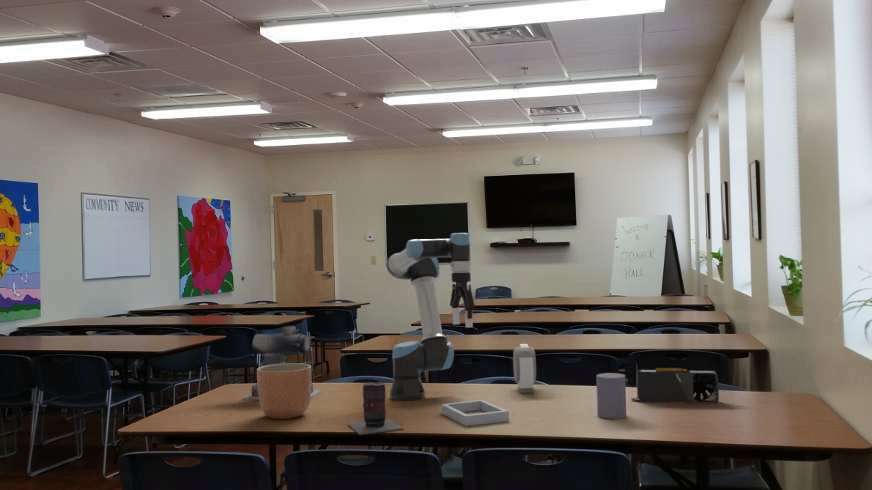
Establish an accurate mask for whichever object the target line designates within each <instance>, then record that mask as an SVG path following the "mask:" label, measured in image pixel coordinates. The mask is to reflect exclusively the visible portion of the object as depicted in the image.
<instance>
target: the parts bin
mask: <svg viewBox="0 0 872 490" xmlns="http://www.w3.org/2000/svg"><path fill="white" fill-rule="evenodd" d="M440 406H441V407H440V408H441V414H442V415H443V416H446V417H448V418H450V419H451V420H454V421H455V422H457V423H459V424H461V425H462V426H464V425H465V427H469V426H468V425H471V426H476V425H477V426H478V424H479V425H486V424H494V422H495V423H503V422H509V421H510V411H509V410H507V409H504V408H502V407H500V406H498V405H495V404H493V403H491V402H488V401H485V400H483V399H478V400H477V399H476V400H469V401H459V402H458V401H457V402H451V403H441V405H440ZM475 410H476V411H482V413H480V412H479V413H473V414H466V412H465V411H467V412H475Z"/></svg>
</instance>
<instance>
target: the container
mask: <svg viewBox="0 0 872 490" xmlns="http://www.w3.org/2000/svg"><path fill="white" fill-rule="evenodd" d="M626 396H627V394H626V375H625V374H623V373H617V372H616V373H615V372H604V373H598V374H596V404H597V416H598V418H601V417H602V418H601V419H605V418H608V419H607V420H619V418H621V419H623V418H626V417H627V397H626Z"/></svg>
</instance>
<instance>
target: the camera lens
mask: <svg viewBox="0 0 872 490" xmlns="http://www.w3.org/2000/svg"><path fill="white" fill-rule="evenodd" d="M362 386H363V387H362V398H363V403H362V408H363V422H366V427H371V428H373V427H381V426H384V421H385V419H386V418H387V417H386V416H387V415H386V414H387V411H386V385H385V383H384V382H378V381H377V382H376V381H375V382H366V383H363V385H362Z"/></svg>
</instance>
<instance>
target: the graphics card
mask: <svg viewBox="0 0 872 490" xmlns="http://www.w3.org/2000/svg"><path fill="white" fill-rule="evenodd" d="M636 368H638V363H636ZM687 369H688V368H687ZM687 369H686V368H682V367H655V369H636V376H635V377H636V395H637V396H636V397H631V398H630V399H631V401H638V400H639V401H640V402H641V403H670V402H685V403H686V404H717V403H718V402H719V400H720V395H719V394H720V393H719V391H720V390H719V388H720V387H719V375H718V373H716V371H714V370H689V372H688V370H687ZM685 403H684V404H685Z"/></svg>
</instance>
